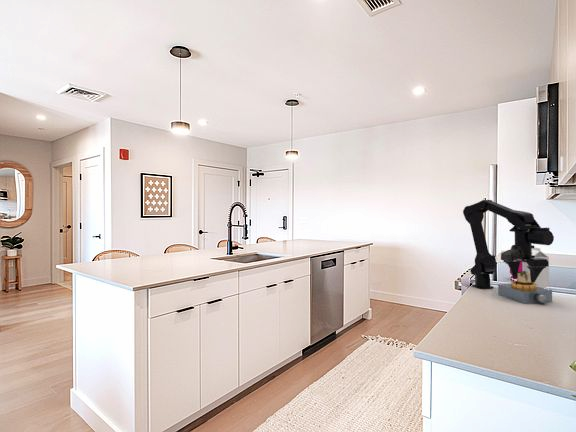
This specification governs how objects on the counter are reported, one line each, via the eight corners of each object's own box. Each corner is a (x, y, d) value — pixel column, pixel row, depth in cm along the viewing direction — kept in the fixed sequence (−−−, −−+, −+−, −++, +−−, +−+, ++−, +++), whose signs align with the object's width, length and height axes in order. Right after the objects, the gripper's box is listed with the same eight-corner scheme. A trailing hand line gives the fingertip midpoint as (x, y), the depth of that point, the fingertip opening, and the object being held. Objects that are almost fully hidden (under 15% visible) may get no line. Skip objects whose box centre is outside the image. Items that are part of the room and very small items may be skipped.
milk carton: (538, 286, 153) (538, 246, 153) (549, 290, 146) (548, 248, 146) (522, 287, 154) (521, 246, 153) (532, 290, 147) (531, 248, 146)
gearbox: (498, 294, 143) (498, 280, 143) (523, 292, 144) (523, 278, 144) (530, 306, 126) (530, 289, 126) (559, 304, 127) (558, 288, 127)
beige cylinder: (514, 286, 139) (514, 270, 138) (524, 285, 139) (524, 269, 139) (523, 288, 134) (522, 272, 134) (533, 288, 134) (532, 271, 134)
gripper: (489, 241, 145) (489, 276, 145) (522, 246, 126) (523, 286, 126) (512, 240, 146) (513, 275, 146) (549, 245, 127) (550, 285, 127)
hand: (523, 280), depth 136 cm, fingers open, 9 cm apart
